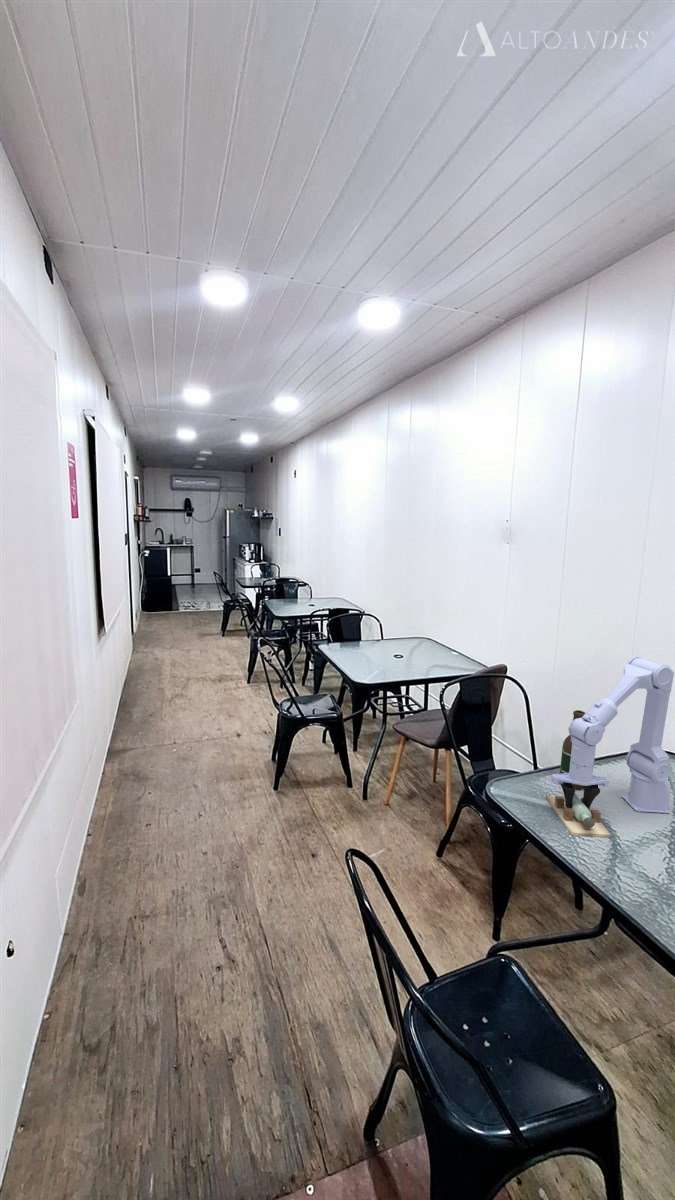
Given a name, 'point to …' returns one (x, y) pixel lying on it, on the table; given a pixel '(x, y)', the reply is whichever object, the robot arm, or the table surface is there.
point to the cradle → (572, 822)
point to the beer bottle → (569, 752)
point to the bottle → (581, 812)
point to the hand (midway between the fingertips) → (577, 808)
